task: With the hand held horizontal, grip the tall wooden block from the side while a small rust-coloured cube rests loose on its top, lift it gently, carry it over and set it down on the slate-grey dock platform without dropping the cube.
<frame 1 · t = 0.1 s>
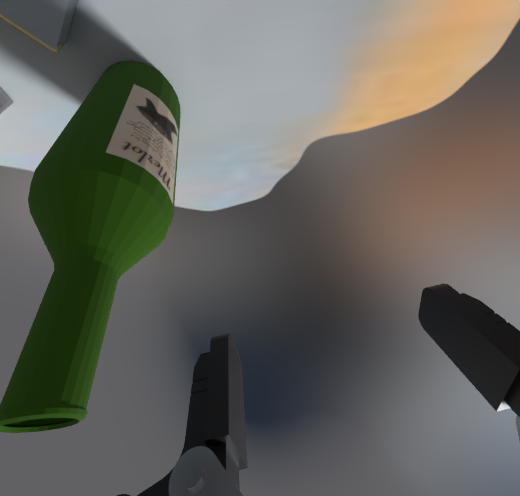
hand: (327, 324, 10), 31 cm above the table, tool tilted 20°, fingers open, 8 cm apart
wine bottle: (142, 103, 31), on the table
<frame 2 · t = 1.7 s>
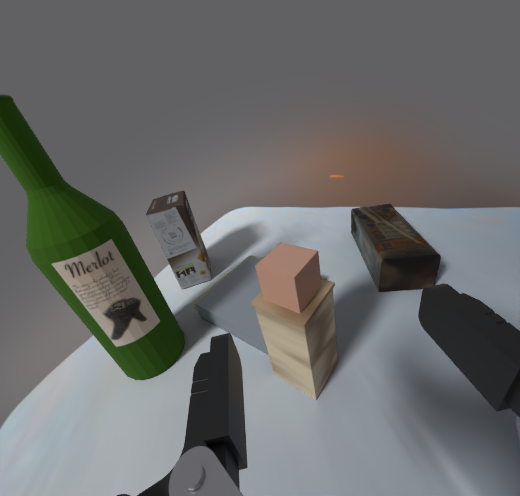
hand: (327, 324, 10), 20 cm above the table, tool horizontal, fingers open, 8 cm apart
coffee box: (196, 273, 53), on the table
dock: (259, 302, 41), on the table
wooden block: (306, 367, 30), on the table, touching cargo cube
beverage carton: (384, 257, 45), on the table
wine bottle: (156, 352, 37), on the table
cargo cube: (292, 292, 24), point 12 cm above the table, touching wooden block
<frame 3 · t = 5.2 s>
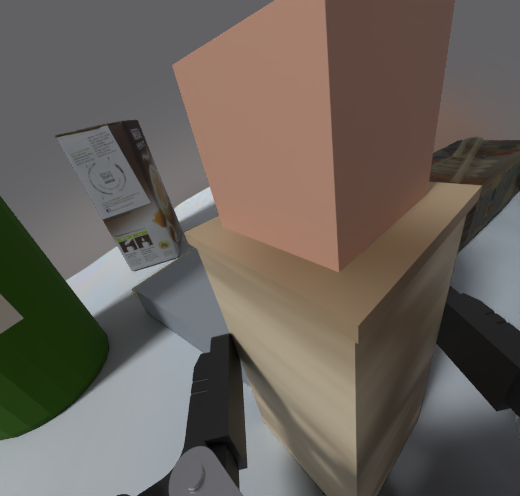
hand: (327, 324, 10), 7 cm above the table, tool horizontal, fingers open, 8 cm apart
coffee box: (160, 249, 36), on the table
dock: (248, 289, 24), on the table
wooden block: (337, 421, 13), on the table, touching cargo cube, gripper
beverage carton: (445, 218, 28), on the table
wine bottle: (52, 377, 20), on the table
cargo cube: (318, 211, 7), point 12 cm above the table, touching wooden block
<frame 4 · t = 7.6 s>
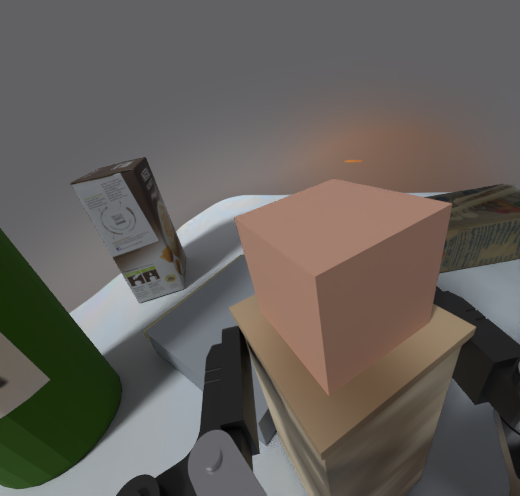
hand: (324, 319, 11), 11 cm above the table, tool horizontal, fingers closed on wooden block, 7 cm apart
coffee box: (165, 278, 37), on the table
dock: (253, 330, 25), on the table
wooden block: (343, 459, 15), on the table, touching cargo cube, gripper
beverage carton: (434, 256, 30), on the table
wine bottle: (69, 420, 21), on the table
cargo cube: (334, 315, 9), point 12 cm above the table, touching wooden block
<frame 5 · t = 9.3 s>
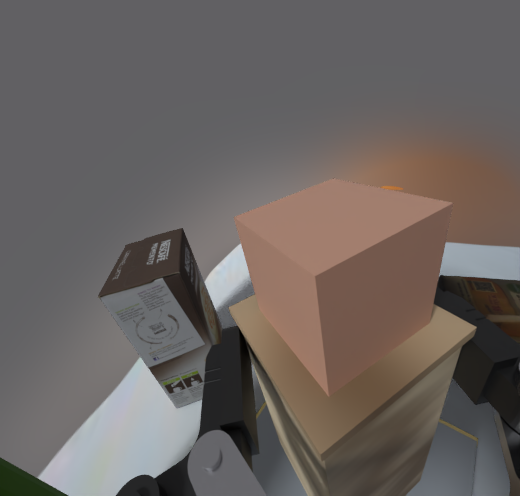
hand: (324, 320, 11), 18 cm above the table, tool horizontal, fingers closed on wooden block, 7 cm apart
coffee box: (203, 363, 31), on the table
dock: (339, 486, 19), on the table
wooden block: (343, 459, 15), point 7 cm above the table, touching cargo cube, gripper
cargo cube: (334, 315, 9), point 19 cm above the table, touching wooden block
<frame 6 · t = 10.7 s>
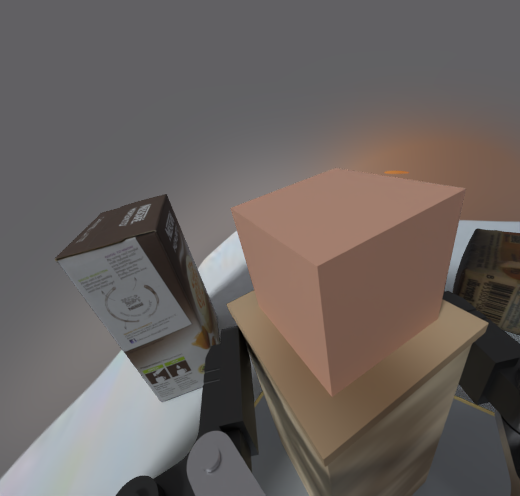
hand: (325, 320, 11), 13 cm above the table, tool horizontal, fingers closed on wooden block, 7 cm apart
coffee box: (193, 352, 27), on the table
dock: (355, 491, 15), on the table
wooden block: (346, 460, 14), point 3 cm above the table, touching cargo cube, dock, gripper
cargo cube: (337, 311, 8), point 15 cm above the table, touching wooden block
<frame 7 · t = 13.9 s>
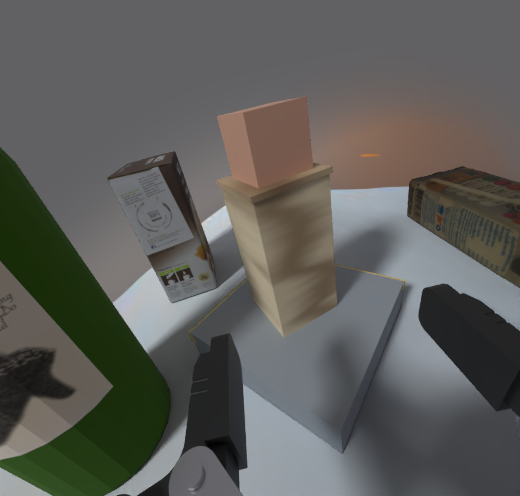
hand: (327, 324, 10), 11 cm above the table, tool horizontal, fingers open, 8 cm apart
coffee box: (194, 277, 36), on the table
dock: (300, 329, 24), on the table
wooden block: (293, 302, 23), point 3 cm above the table, touching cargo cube, dock
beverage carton: (483, 243, 30), on the table
wine bottle: (117, 427, 20), on the table
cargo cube: (270, 173, 17), point 15 cm above the table, touching wooden block
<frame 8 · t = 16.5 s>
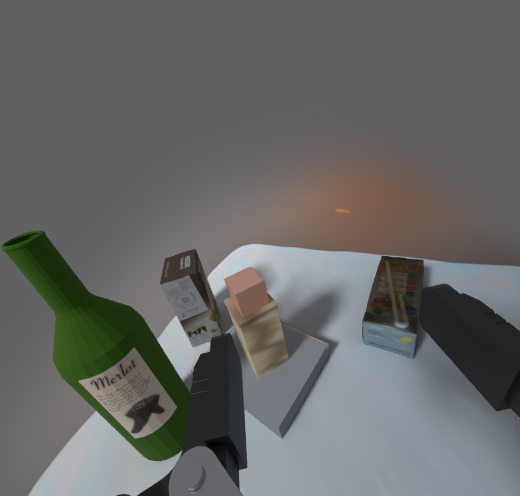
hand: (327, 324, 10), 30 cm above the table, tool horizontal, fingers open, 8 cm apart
coffee box: (206, 326, 53), on the table
dock: (270, 370, 42), on the table
wooden block: (265, 356, 41), point 3 cm above the table, touching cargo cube, dock
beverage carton: (394, 312, 47), on the table
wine bottle: (170, 425, 37), on the table
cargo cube: (250, 302, 34), point 15 cm above the table, touching wooden block
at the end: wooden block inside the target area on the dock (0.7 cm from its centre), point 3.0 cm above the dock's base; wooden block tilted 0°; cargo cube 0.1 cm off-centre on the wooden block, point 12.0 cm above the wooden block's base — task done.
